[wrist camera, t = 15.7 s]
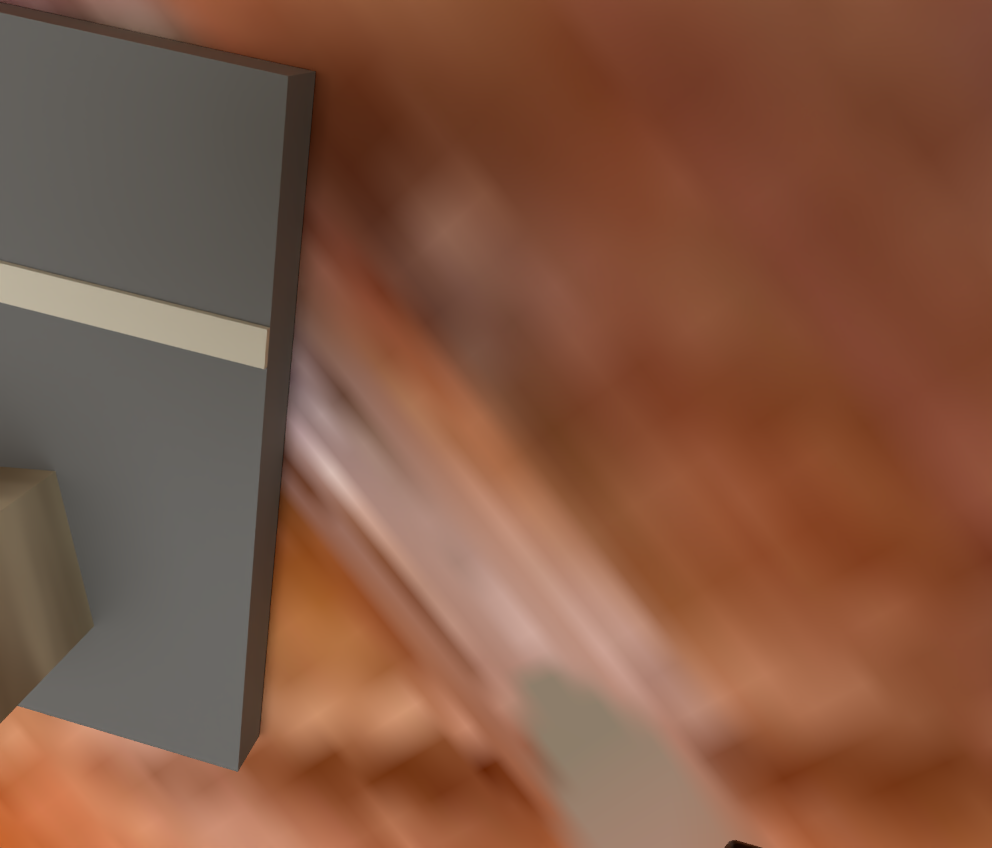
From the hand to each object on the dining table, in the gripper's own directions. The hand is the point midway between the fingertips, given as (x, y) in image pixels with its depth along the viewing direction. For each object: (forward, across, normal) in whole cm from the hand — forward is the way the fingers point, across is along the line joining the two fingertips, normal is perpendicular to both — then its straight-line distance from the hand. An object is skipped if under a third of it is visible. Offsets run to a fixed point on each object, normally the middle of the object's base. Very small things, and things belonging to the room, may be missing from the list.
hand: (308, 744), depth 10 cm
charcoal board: (+13, +12, +5) cm, 18 cm away
